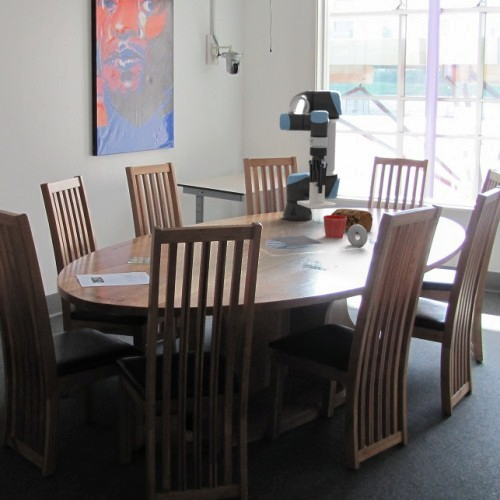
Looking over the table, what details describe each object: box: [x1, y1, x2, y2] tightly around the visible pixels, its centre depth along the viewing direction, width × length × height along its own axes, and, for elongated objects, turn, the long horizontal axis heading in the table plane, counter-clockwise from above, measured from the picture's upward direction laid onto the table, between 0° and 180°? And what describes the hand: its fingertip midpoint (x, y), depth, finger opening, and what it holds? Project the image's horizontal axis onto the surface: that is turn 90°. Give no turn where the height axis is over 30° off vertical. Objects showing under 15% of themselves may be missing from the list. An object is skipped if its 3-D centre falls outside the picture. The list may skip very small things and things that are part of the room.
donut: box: [346, 224, 369, 248], centre depth 346 cm, size 10×4×10 cm, turn 47°
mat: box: [272, 235, 323, 247], centre depth 356 cm, size 18×16×1 cm
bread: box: [330, 208, 374, 234], centre depth 386 cm, size 19×11×10 cm, turn 38°
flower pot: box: [323, 214, 347, 239], centre depth 365 cm, size 11×11×10 cm
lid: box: [297, 182, 338, 210], centre depth 357 cm, size 13×13×10 cm
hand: (316, 199), depth 358 cm, fingers closed on lid, 3 cm apart
